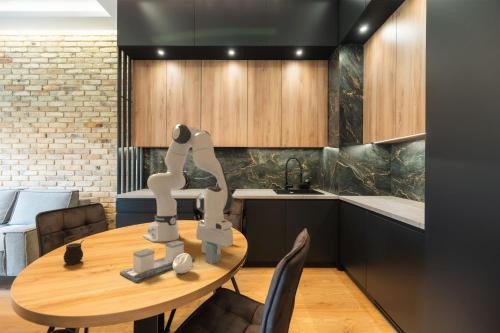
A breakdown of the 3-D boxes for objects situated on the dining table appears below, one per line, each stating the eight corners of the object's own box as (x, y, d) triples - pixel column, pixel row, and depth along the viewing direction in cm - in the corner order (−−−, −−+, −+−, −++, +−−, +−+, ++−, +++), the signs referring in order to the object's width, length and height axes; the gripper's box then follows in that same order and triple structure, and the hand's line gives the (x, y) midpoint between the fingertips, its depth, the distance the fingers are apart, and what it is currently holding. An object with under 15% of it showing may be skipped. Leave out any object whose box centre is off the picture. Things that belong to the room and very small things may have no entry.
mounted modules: (133, 270, 101) (133, 252, 101) (176, 255, 118) (176, 240, 118) (140, 273, 98) (140, 255, 98) (183, 257, 115) (183, 242, 115)
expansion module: (205, 262, 114) (205, 243, 115) (214, 258, 119) (214, 240, 119) (211, 264, 112) (212, 245, 112) (221, 260, 117) (221, 242, 117)
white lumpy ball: (170, 270, 104) (171, 252, 104) (188, 267, 108) (189, 249, 108) (175, 278, 97) (175, 258, 97) (194, 274, 101) (194, 255, 101)
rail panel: (120, 274, 100) (120, 269, 100) (177, 255, 123) (177, 251, 123) (136, 283, 93) (136, 277, 93) (194, 260, 116) (194, 256, 116)
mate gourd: (65, 260, 113) (66, 238, 113) (85, 258, 116) (86, 237, 116) (60, 266, 107) (61, 243, 107) (82, 264, 110) (82, 241, 110)
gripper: (193, 220, 119) (192, 249, 119) (226, 226, 107) (225, 259, 107) (203, 218, 124) (202, 246, 124) (235, 224, 112) (234, 255, 112)
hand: (213, 252), depth 116 cm, fingers closed on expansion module, 4 cm apart
